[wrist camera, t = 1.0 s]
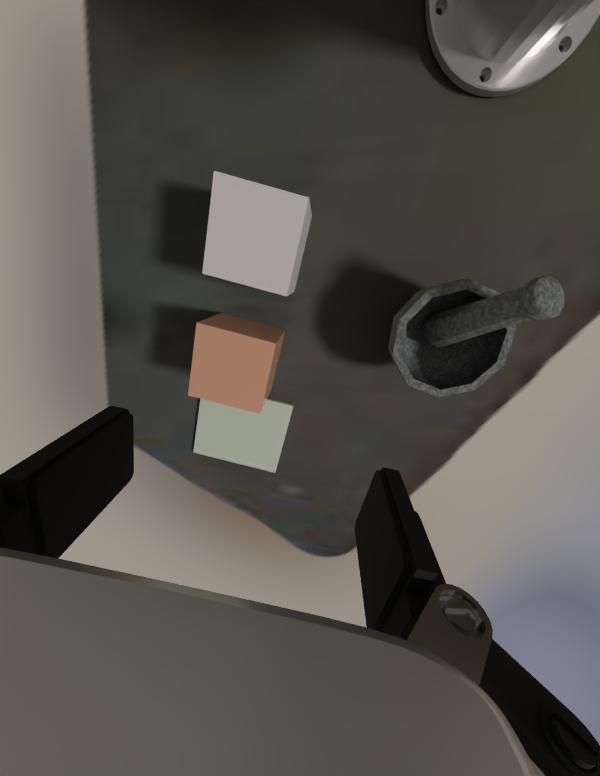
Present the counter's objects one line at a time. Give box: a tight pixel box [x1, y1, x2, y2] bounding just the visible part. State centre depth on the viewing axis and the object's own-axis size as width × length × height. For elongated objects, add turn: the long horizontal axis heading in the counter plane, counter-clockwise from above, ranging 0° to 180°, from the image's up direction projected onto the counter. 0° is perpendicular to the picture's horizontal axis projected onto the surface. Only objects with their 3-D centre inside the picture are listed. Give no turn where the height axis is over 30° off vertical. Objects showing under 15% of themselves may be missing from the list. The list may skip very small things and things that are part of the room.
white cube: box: [202, 171, 312, 296], centre depth 25 cm, size 7×7×7 cm
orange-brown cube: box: [188, 313, 285, 414], centre depth 29 cm, size 7×7×7 cm
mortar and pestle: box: [388, 276, 564, 397], centre depth 24 cm, size 11×9×12 cm
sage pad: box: [193, 398, 293, 473], centre depth 36 cm, size 10×11×1 cm
